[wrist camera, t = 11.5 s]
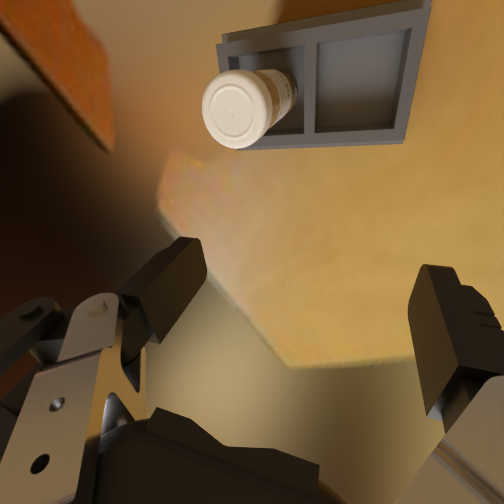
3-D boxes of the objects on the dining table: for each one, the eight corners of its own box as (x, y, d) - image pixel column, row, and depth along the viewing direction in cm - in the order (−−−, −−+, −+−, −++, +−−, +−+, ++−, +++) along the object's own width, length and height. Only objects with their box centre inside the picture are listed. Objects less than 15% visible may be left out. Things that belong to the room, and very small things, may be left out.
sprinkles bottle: (250, 76, 27) (188, 83, 17) (294, 61, 25) (255, 58, 15) (261, 123, 29) (212, 156, 19) (302, 112, 28) (273, 142, 17)
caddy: (429, -3, 21) (443, -15, 18) (401, 141, 27) (407, 151, 24) (225, 35, 27) (208, 31, 23) (239, 148, 33) (227, 157, 30)
